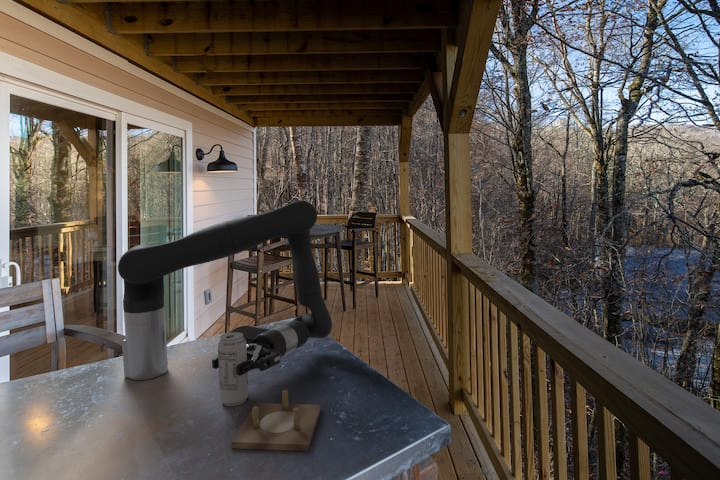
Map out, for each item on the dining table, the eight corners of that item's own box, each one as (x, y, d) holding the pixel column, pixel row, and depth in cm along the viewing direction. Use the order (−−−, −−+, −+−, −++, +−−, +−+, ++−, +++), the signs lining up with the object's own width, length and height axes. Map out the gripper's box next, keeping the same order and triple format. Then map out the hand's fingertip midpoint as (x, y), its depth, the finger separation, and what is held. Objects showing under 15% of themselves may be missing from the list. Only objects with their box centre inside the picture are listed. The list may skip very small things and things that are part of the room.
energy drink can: (254, 398, 91) (251, 334, 90) (232, 410, 86) (230, 342, 85) (236, 391, 94) (233, 329, 93) (214, 402, 89) (211, 337, 88)
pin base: (231, 448, 73) (230, 420, 72) (256, 408, 87) (255, 385, 86) (308, 450, 72) (307, 423, 71) (320, 410, 86) (320, 386, 85)
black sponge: (281, 342, 127) (281, 331, 127) (263, 351, 120) (262, 340, 119) (243, 335, 135) (243, 324, 134) (224, 343, 127) (223, 331, 127)
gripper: (254, 325, 105) (201, 345, 90) (298, 333, 98) (249, 357, 84) (255, 352, 106) (203, 377, 91) (299, 363, 99) (250, 391, 84)
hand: (225, 367), depth 87 cm, fingers open, 7 cm apart
